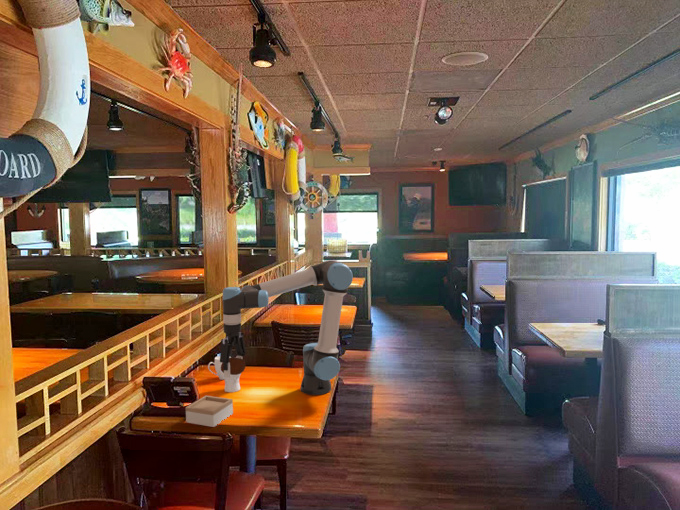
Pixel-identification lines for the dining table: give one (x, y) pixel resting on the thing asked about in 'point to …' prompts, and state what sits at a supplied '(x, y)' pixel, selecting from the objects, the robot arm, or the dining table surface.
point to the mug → (217, 367)
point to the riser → (209, 411)
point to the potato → (235, 366)
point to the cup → (231, 382)
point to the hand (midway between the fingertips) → (233, 373)
